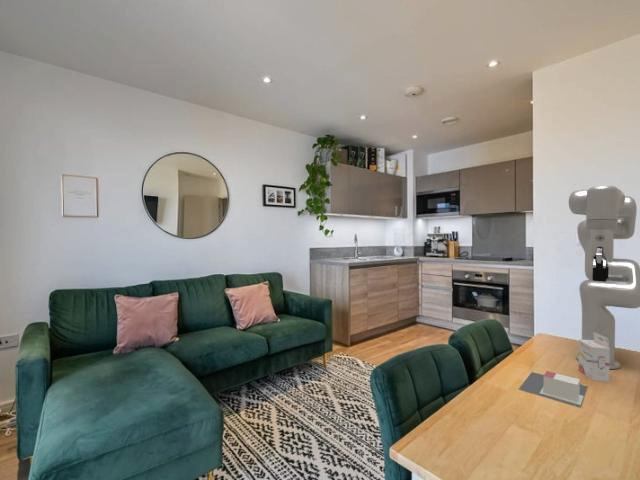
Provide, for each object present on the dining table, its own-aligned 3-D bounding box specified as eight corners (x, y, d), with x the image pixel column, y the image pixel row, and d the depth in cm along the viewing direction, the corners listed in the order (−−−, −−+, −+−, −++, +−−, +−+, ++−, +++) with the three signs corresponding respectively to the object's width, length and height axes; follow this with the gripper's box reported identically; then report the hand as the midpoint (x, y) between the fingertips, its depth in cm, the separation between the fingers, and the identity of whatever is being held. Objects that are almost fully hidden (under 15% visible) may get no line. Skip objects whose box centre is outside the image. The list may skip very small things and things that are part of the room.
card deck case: (579, 396, 94) (579, 378, 94) (577, 402, 90) (577, 384, 90) (546, 387, 99) (546, 370, 99) (543, 392, 96) (543, 375, 96)
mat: (531, 373, 111) (531, 371, 111) (587, 388, 100) (587, 385, 100) (518, 391, 98) (518, 388, 98) (580, 410, 88) (580, 407, 88)
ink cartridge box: (577, 371, 113) (577, 330, 113) (593, 373, 112) (594, 331, 112) (592, 382, 105) (593, 337, 104) (610, 384, 104) (611, 338, 103)
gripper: (616, 224, 92) (615, 283, 92) (618, 226, 104) (617, 278, 104) (583, 225, 97) (582, 281, 97) (588, 226, 110) (588, 276, 110)
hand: (600, 279), depth 101 cm, fingers open, 9 cm apart
